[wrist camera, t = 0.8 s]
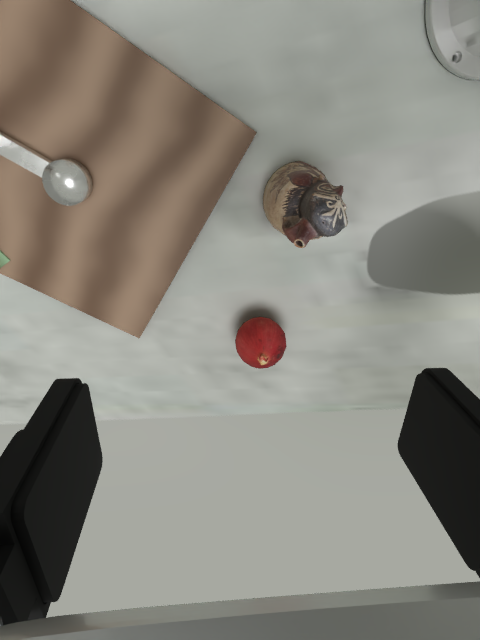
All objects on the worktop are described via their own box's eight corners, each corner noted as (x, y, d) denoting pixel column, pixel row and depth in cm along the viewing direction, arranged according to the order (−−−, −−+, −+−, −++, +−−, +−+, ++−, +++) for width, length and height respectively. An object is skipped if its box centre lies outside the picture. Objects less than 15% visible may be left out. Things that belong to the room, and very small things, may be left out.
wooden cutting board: (255, 132, 36) (256, 132, 35) (141, 333, 45) (139, 339, 44) (-26, -67, 29) (-37, -76, 27) (-92, 223, 38) (-102, 226, 37)
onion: (287, 311, 45) (300, 346, 38) (272, 350, 48) (282, 389, 41) (241, 301, 44) (245, 334, 37) (229, 341, 47) (231, 379, 40)
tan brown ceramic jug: (340, 207, 40) (384, 236, 29) (283, 244, 41) (306, 284, 31) (308, 146, 37) (345, 154, 26) (249, 189, 38) (261, 212, 28)
